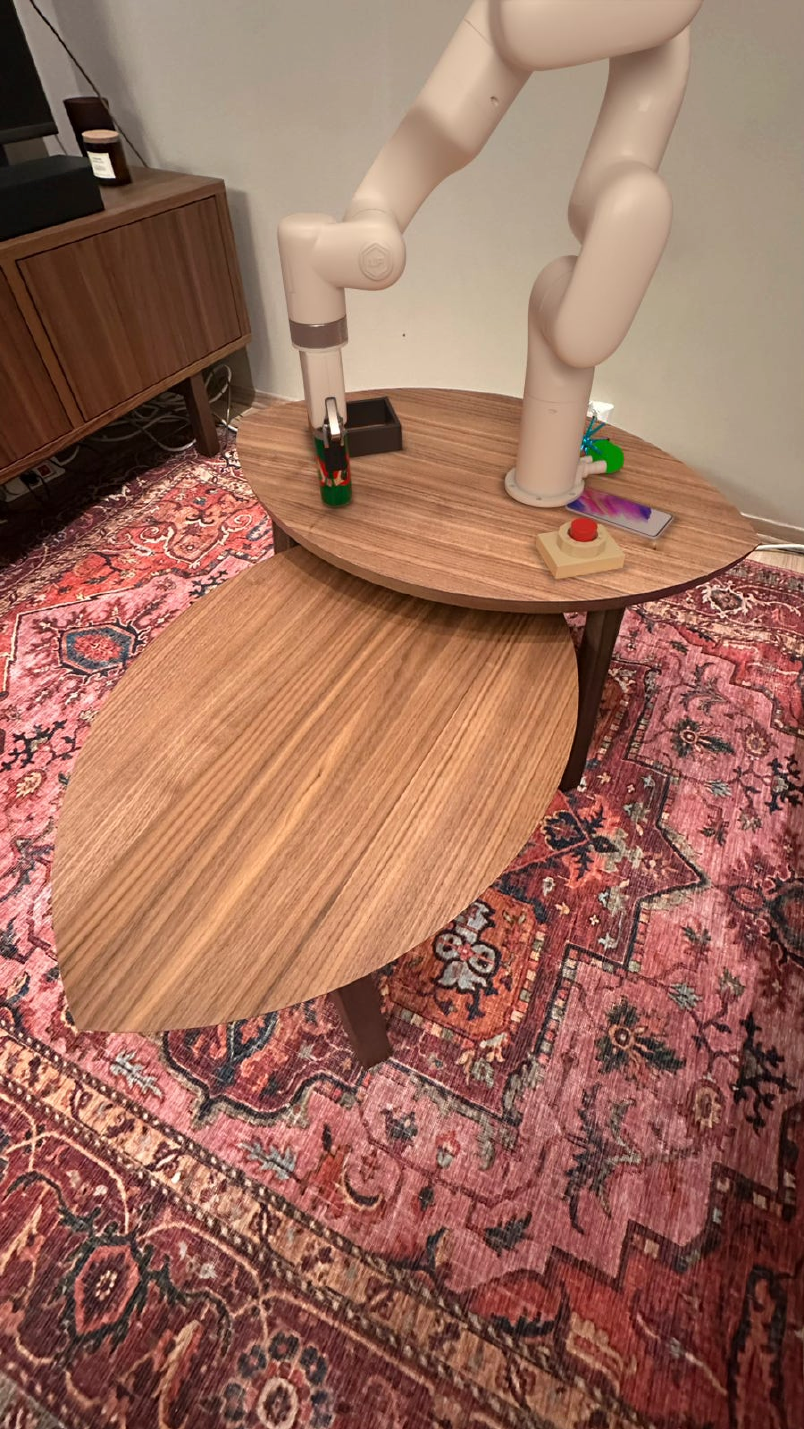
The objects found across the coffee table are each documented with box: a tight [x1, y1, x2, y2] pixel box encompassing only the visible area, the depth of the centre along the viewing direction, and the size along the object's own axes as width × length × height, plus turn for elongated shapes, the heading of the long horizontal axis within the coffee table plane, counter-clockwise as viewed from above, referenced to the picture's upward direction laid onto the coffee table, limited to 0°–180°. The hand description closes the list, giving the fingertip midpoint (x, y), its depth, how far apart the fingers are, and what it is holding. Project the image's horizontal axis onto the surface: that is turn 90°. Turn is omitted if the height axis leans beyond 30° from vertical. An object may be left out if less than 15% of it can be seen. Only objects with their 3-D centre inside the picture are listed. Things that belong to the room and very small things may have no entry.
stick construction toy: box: [580, 414, 625, 474], centre depth 114 cm, size 12×7×8 cm
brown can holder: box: [298, 350, 403, 458], centre depth 117 cm, size 15×12×14 cm
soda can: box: [312, 420, 354, 508], centre depth 104 cm, size 5×5×12 cm
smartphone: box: [565, 486, 675, 540], centre depth 105 cm, size 7×1×15 cm
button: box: [569, 517, 598, 542], centre depth 94 cm, size 4×4×2 cm
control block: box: [534, 520, 627, 580], centre depth 96 cm, size 10×8×4 cm
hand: (333, 459), depth 103 cm, fingers closed on soda can, 5 cm apart
